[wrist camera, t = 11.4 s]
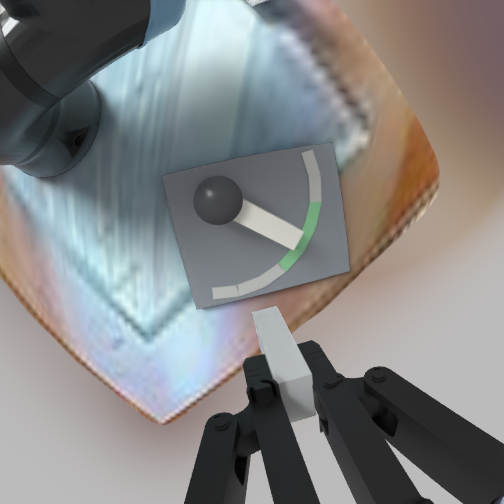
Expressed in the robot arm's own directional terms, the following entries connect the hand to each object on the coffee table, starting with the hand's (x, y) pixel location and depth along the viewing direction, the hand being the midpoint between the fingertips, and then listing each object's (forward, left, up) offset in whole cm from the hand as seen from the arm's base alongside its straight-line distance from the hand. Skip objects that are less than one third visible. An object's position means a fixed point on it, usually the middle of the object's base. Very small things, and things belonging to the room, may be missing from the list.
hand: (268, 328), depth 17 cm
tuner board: (+4, +2, -22) cm, 23 cm away
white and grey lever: (+2, +4, -21) cm, 21 cm away
